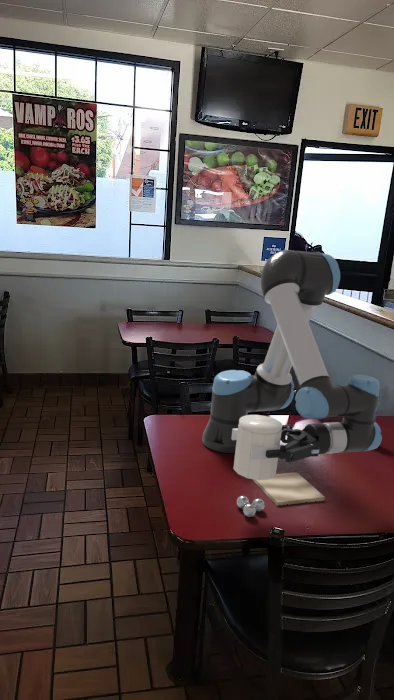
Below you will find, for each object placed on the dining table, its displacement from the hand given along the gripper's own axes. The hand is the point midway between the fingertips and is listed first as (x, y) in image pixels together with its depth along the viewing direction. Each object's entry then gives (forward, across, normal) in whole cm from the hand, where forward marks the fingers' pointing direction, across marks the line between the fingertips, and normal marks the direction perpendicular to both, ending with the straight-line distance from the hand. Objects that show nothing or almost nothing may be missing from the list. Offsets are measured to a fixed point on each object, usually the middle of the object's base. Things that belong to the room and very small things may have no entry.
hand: (241, 443), depth 116 cm
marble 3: (-6, 0, -18) cm, 19 cm away
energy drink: (-64, +34, -18) cm, 75 cm away
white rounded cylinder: (-4, 0, -7) cm, 8 cm away
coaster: (-19, +8, -18) cm, 28 cm away
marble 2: (-3, -2, -18) cm, 18 cm away
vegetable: (-64, +54, -18) cm, 86 cm away
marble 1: (-3, +2, -18) cm, 18 cm away
